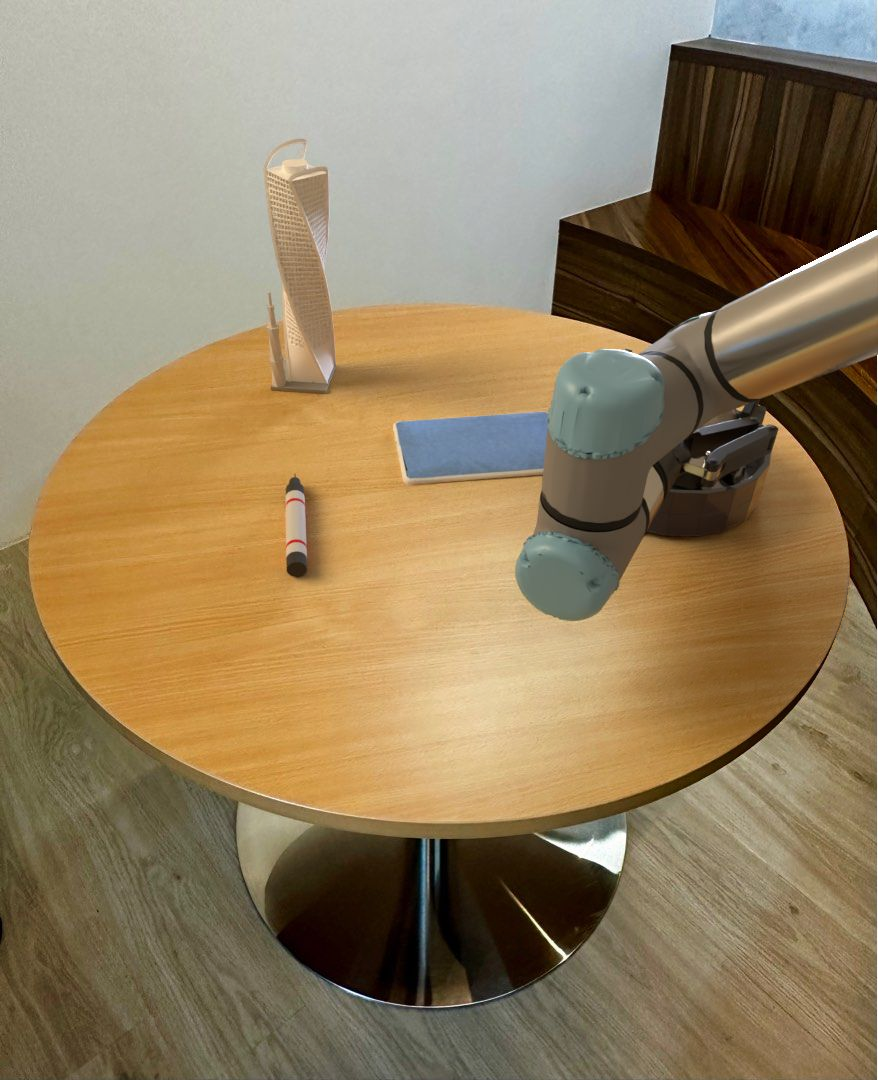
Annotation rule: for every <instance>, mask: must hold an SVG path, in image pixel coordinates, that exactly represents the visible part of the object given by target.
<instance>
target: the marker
mask: <svg viewBox="0 0 878 1080" xmlns="http://www.w3.org/2000/svg"><path fill="white" fill-rule="evenodd" d="M293 474H294V476H293V477H290V479H289V481H288V484H287V485H286V487H285V501H284V502H285V562H286V573H287V574H288V575H289V576H290V577H293V578H299V577H303V576H305V575H306V573H307V571H308V563H307V562H308V549H307V520H306V498H305V487H304V485H303V484H302V483H301V480H300V478H299V477H297V476H296V473H293Z"/></svg>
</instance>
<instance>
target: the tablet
mask: <svg viewBox="0 0 878 1080" xmlns="http://www.w3.org/2000/svg"><path fill="white" fill-rule="evenodd" d="M547 418H548V411H543V410H542V411H531V412H530V411H529V412H515V413H503V414H487V415H473V416H456V417H442V418H441V417H440V418H429V419H427V418H426V419H411V420H398V421H396V422H394V423H393V425H392V432H393V435H394V442H395V444H396V445H395V446H396V453H397V457H398V461H399V467H400V472H401V477H402V481H403V483H404V484H406V485H408V486H419V485H430V484H431V485H432V484H439V483H440V484H441V483H451V482H465V481H476V480H489V479H502V478H515V477H516V478H517V477H528V476H541V475H542V476H543V469H544V459H545V449H546V439H547V428H548V425H547V421H548V420H547Z"/></svg>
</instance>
